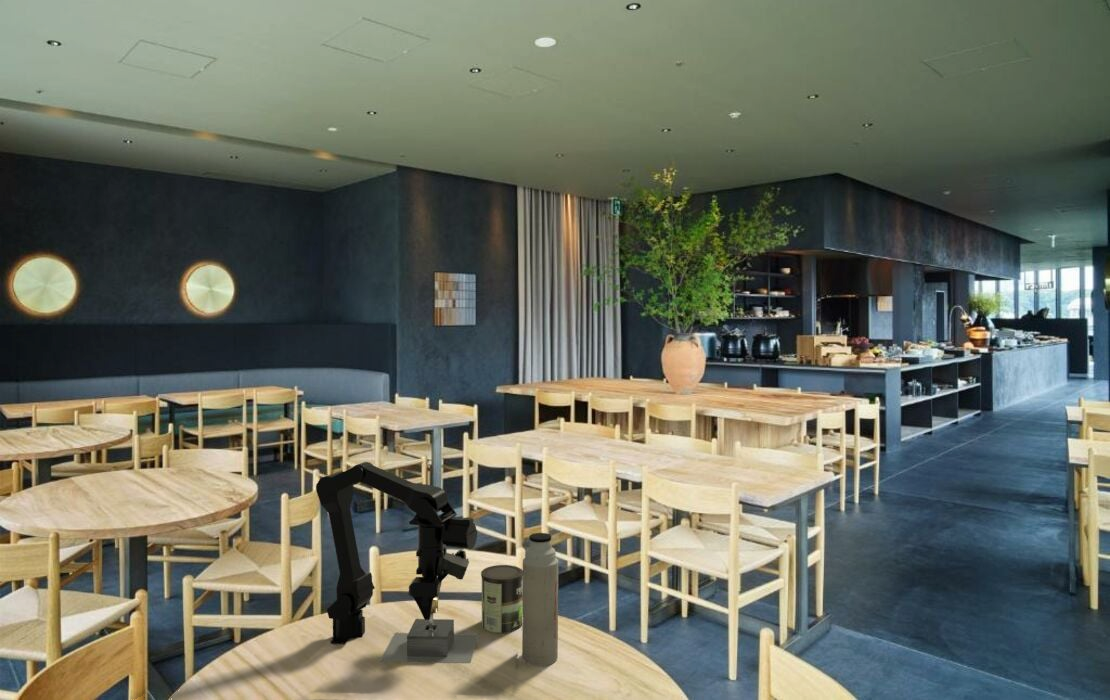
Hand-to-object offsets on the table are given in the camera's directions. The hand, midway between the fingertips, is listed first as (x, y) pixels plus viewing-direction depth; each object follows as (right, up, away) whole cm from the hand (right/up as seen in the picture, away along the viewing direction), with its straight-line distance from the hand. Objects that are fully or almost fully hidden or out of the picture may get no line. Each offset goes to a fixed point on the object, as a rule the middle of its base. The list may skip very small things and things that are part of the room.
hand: (430, 611), depth 163 cm
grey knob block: (0, -8, 0) cm, 8 cm away
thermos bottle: (+25, -10, -2) cm, 27 cm away
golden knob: (0, -5, 0) cm, 5 cm away
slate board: (0, -9, 0) cm, 9 cm away
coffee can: (+15, -9, +13) cm, 22 cm away
